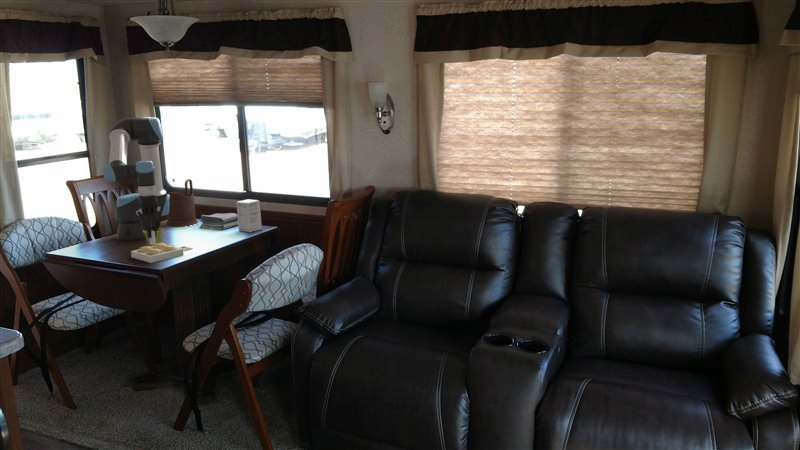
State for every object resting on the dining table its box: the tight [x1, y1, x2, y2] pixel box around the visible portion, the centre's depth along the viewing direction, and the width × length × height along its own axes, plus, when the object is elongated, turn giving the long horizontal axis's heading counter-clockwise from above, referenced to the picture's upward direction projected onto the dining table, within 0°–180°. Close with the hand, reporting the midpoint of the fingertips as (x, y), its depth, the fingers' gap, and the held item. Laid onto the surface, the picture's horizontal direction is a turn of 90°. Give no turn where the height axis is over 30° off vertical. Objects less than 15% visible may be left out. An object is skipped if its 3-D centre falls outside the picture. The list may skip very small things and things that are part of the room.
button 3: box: [154, 242, 166, 249], centre depth 294 cm, size 5×5×3 cm
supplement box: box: [236, 198, 263, 233], centre depth 339 cm, size 10×9×17 cm
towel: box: [199, 212, 238, 230], centre depth 350 cm, size 15×18×8 cm
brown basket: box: [165, 178, 199, 228], centre depth 359 cm, size 18×24×25 cm
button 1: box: [139, 245, 151, 253], centre depth 288 cm, size 5×5×3 cm
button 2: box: [148, 248, 160, 255], centre depth 284 cm, size 5×5×3 cm
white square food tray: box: [130, 243, 184, 264], centre depth 289 cm, size 17×17×3 cm
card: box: [178, 246, 194, 252], centre depth 301 cm, size 7×7×1 cm
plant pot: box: [143, 227, 164, 247], centre depth 306 cm, size 9×9×9 cm
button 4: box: [163, 244, 175, 252], centre depth 289 cm, size 5×5×3 cm
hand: (153, 244), depth 282 cm, fingers closed
